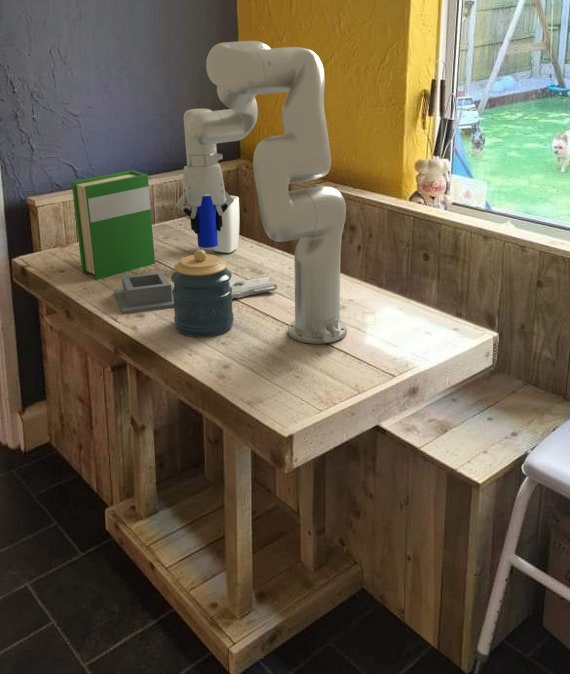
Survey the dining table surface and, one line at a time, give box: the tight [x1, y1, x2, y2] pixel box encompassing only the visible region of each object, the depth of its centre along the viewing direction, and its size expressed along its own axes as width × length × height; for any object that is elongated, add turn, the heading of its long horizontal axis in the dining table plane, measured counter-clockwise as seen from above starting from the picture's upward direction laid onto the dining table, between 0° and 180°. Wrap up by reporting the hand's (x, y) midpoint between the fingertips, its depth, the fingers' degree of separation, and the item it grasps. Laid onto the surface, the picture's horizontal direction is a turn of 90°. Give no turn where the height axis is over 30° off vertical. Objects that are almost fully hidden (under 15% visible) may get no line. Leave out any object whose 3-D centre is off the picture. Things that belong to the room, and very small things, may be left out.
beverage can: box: [196, 194, 218, 251], centre depth 213 cm, size 5×5×15 cm
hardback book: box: [71, 169, 156, 281], centre depth 215 cm, size 18×7×24 cm, turn 132°
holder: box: [113, 271, 174, 315], centre depth 197 cm, size 14×14×5 cm
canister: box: [170, 248, 234, 338], centre depth 179 cm, size 13×13×18 cm
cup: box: [212, 195, 240, 254], centre depth 229 cm, size 7×7×15 cm
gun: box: [229, 276, 278, 300], centre depth 201 cm, size 18×4×10 cm
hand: (207, 230), depth 214 cm, fingers closed on beverage can, 5 cm apart
